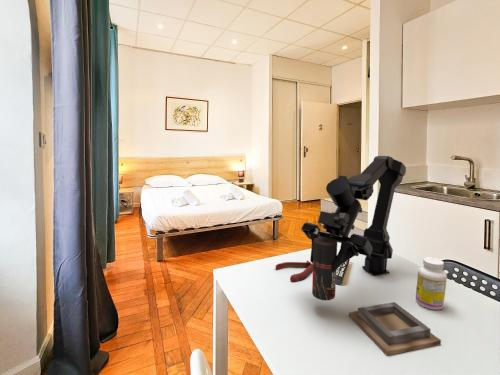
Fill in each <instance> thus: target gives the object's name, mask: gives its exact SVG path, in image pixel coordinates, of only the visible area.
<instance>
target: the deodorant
mask: <svg viewBox="0 0 500 375" xmlns="http://www.w3.org/2000/svg"><path fill="white" fill-rule="evenodd" d="M337 255H338V242H337V241H336V240H335V239H333V238H329V237H318V238H315V239H314V245H313V272H312V281H311V282H312V284H311V294H312V296H313V297H314V298H316V299H317V300H320V301H324V302H325V301H331V300H334V298H336V284H337V283H336V282H337V269H336V270H334V271H333V270H332V265H333V263H334V261H335V259H336V257H337Z"/></svg>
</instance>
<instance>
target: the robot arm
mask: <svg viewBox="0 0 500 375" xmlns="http://www.w3.org/2000/svg"><path fill="white" fill-rule="evenodd" d="M406 168H407V167H406V165H405V164H404V163H403V162H402V161H400V160H397V159H394V158H393V156H390V155H376V156H374V158H373V160H372V161H371V162H370V163H369V164H368V165H367V167H366V168H365V169H363V171H361V173H360V174H356V175H351V177H349V178H347V177H348V176H347V175H341V174H340V175H339V176H338V177H337V178H334V179H332V180H331V181H329V183H327V185H326V187H325V188H326V192H327V194H328V196H329V197H330V199H331V201H332V203H333V205H335V206H336V209H335V211H334V212H333V211H331V212H327V211H323V210H322V211H320V212H319V215H318V216H319V217H318V220H317V224H316V223H313V222H309V221H307V222H304V223H303V224H302V226H301V228H300V230H301V232H303V233H304V235H305V236H306V238H308V239H309V240H311V251H310V261H309V262H310V263H313V245H314V239H315V238H318V237H329V238H333V239H335V240H336V241H337V243H339V244H340V247H339V251H338V252H337V257H336V259H335V261H334V263H333V265H332V270H333V271H334V270H336V271H337V270H338V268H339V267H341V266H342V265H343V264H345V263H346V262H347V261H349V260H351V259H352V258H353V257H359V255H362V256H365V257H364V265H363V266H362V269H364V270H365V271H366V272H368V273H369V274H371V275H372V276H379V275H380V276H381V275H389V274H390V271H389V270H388V269H387V268H388V266H387V265H388V264H387V263H388V259H392V257H393V252H394V250H393V247H392V245H391V242H390V239H391V238H390V234H389V232H388V229H387V226H388V222H389V218H390V213H391V209H392V204H393V200H394V194H395V189H396V188H397V187H398V186H399V185H400V184H401V183H402V182H403V179H404V176H406V172H407V169H406ZM376 182H379V190H378V194H377V200H376V203H375V206H374V213H373V216H372V221H371V225H370V226H369V227H368V228H365V229H363V230H364V231H363V235H360V234H357V233H352V234H351V235H350V237H349V234H350V232H351V230H354V229H355V228H356V227H355V225H354V223H355V221H356V219H357V218H358V215H359V213H361V214H362V213H363V208H362V205H361V203H360V201H361V200H362V201H368V200H369V199H370V198H371V197H372V196H373V193H374V185H375V183H376ZM318 224H322V227H323V229H324V230H321V229H320V227H319V226H318Z"/></svg>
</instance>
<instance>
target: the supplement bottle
mask: <svg viewBox="0 0 500 375" xmlns="http://www.w3.org/2000/svg"><path fill="white" fill-rule="evenodd" d="M444 263H445V262H444V260H441V259H439V258H435V257H430V256H429V257H428V256H427V257H424V258H423V260H422V264H423V265H422V266H420V267H419V268H418V269H417V270H418V271H417V280H416V287H415V289H416V290H415V301H416V303H417V304H418V305H419V306H421V307H423V308H426V309H428V310H432V311H433V310H434V311H435V310H437V311H438V310H442V309H443V308H444V305H445V297H446V289H447V288H446V287H447V280H448V279H447V278H448V274H447V272H446V271H445V270H444V265H445V264H444Z"/></svg>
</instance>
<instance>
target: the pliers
mask: <svg viewBox="0 0 500 375" xmlns="http://www.w3.org/2000/svg"><path fill="white" fill-rule="evenodd" d="M283 269H304V270H303V271H302V272H299V273H294V274H292V275H290V277H289V278H290V279H289V280H290V282H292V283H297V282H300V281H303V280H305V279H307V277H308V276H310V275H311V274H312V273H313V263H312V262H311V261H309V260H306V261H286V262H281V263H277V264H276V265H275V270H276V271H279V270H283Z"/></svg>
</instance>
